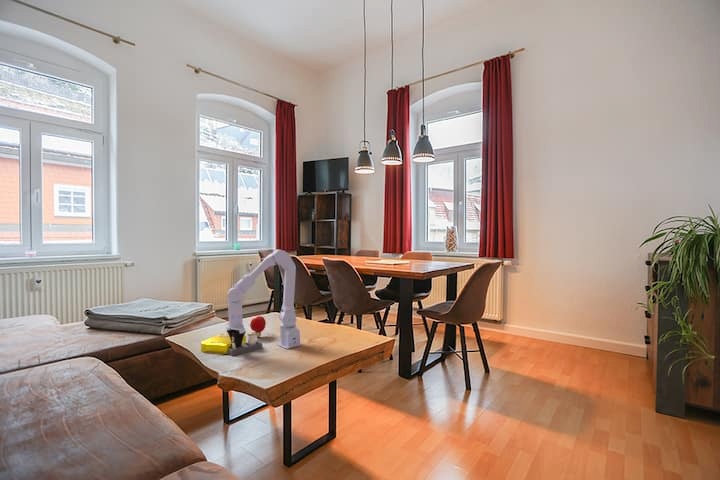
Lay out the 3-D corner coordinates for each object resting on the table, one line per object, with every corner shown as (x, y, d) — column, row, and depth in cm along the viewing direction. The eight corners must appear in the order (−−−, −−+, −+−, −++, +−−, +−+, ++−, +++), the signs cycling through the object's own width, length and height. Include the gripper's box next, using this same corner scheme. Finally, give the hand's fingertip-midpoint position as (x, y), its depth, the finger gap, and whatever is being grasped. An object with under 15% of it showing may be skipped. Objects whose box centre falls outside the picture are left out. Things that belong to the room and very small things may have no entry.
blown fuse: (242, 352, 155) (242, 336, 155) (234, 354, 153) (233, 338, 153) (239, 350, 158) (238, 334, 158) (231, 352, 156) (230, 336, 156)
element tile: (199, 352, 158) (198, 341, 158) (221, 342, 172) (220, 332, 172) (228, 355, 154) (227, 344, 154) (248, 344, 168) (247, 334, 168)
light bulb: (260, 340, 172) (259, 319, 171) (247, 339, 173) (246, 319, 173) (269, 334, 181) (268, 315, 181) (256, 334, 182) (255, 314, 182)
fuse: (257, 348, 160) (257, 333, 160) (249, 350, 158) (249, 334, 157) (254, 346, 163) (253, 331, 163) (246, 348, 160) (245, 333, 160)
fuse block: (262, 348, 160) (262, 343, 160) (231, 355, 151) (231, 350, 151) (256, 345, 165) (256, 340, 165) (226, 352, 156) (226, 347, 156)
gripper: (220, 314, 158) (221, 344, 158) (232, 320, 147) (233, 352, 147) (235, 311, 163) (236, 341, 163) (249, 317, 152) (250, 348, 152)
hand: (236, 346), depth 156 cm, fingers closed on blown fuse, 4 cm apart
